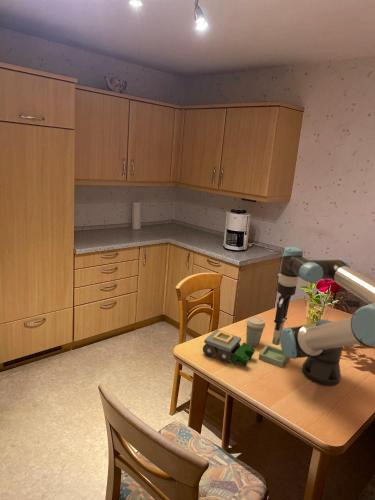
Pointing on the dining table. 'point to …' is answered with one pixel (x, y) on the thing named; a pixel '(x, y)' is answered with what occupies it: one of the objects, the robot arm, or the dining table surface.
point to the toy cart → (221, 345)
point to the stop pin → (276, 339)
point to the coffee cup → (254, 331)
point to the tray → (273, 356)
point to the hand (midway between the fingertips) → (277, 334)
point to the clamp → (243, 354)
